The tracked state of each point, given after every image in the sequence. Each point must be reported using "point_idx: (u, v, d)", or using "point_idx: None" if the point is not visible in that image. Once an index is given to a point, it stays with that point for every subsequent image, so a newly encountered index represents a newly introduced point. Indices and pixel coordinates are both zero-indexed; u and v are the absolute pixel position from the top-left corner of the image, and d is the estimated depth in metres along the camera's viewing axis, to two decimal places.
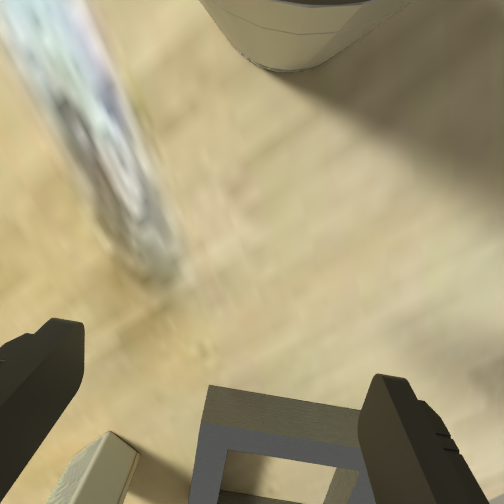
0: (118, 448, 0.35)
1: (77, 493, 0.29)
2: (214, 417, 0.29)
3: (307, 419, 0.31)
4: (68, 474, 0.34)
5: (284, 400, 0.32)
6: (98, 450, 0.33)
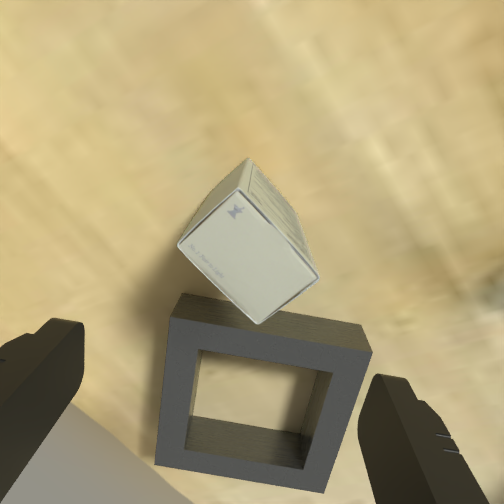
0: None
1: (306, 239, 0.23)
2: None
3: None
4: (265, 181, 0.26)
5: None
6: (299, 220, 0.27)
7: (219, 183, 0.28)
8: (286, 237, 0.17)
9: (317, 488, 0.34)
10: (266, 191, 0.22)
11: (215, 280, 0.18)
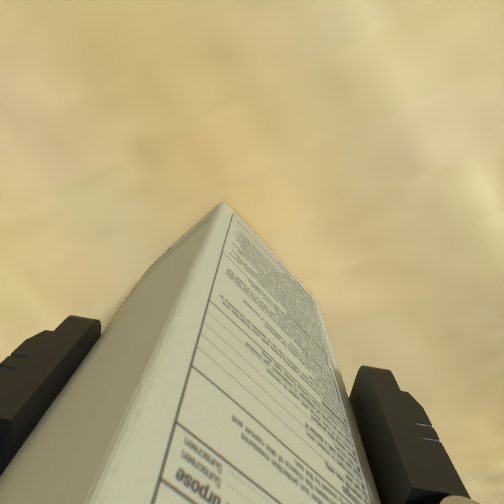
0: None
1: (355, 422, 0.09)
2: None
3: None
4: (256, 260, 0.12)
5: None
6: (327, 331, 0.13)
7: (166, 252, 0.14)
8: None
9: None
10: (256, 316, 0.09)
11: None
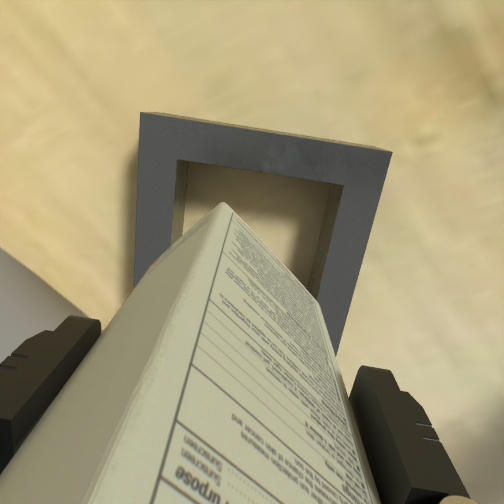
0: None
1: (355, 421, 0.10)
2: None
3: None
4: (256, 259, 0.12)
5: None
6: None
7: (166, 252, 0.14)
8: None
9: None
10: (256, 315, 0.09)
11: None
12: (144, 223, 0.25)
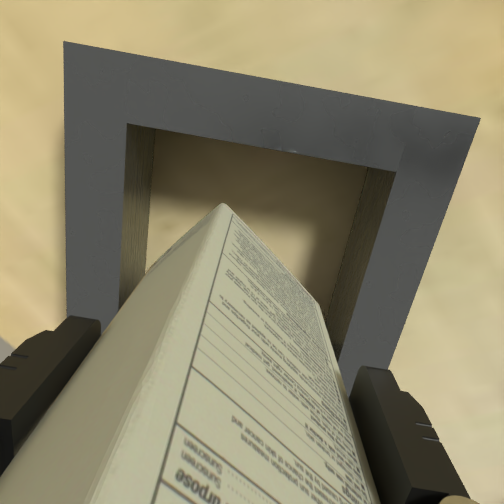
0: None
1: (355, 423, 0.10)
2: None
3: None
4: (256, 260, 0.12)
5: None
6: None
7: (166, 252, 0.14)
8: None
9: None
10: (256, 317, 0.09)
11: None
12: (78, 226, 0.16)
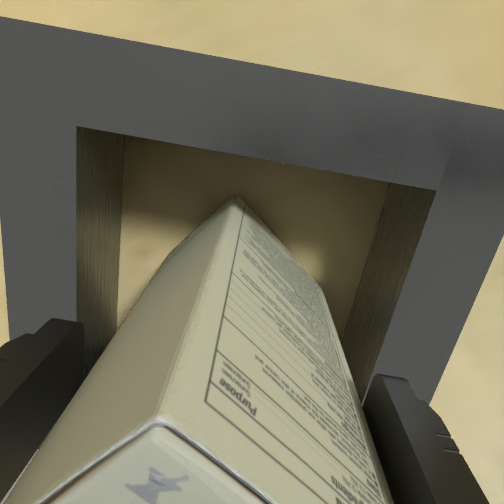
0: None
1: (353, 384, 0.11)
2: None
3: None
4: (266, 245, 0.13)
5: None
6: (329, 311, 0.15)
7: (184, 240, 0.15)
8: None
9: None
10: (269, 289, 0.10)
11: None
12: (20, 259, 0.12)
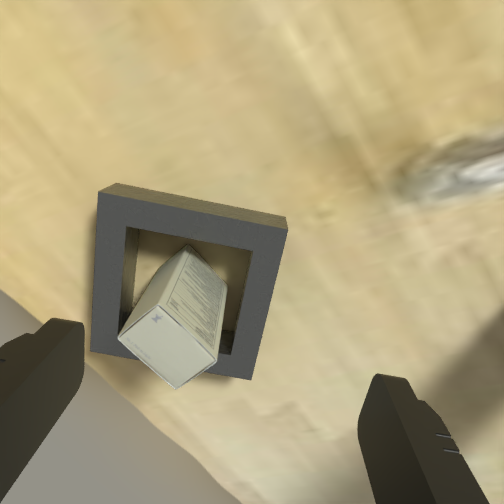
0: None
1: None
2: None
3: None
4: (197, 267, 0.34)
5: None
6: (226, 294, 0.35)
7: (165, 263, 0.36)
8: (192, 334, 0.25)
9: (244, 375, 0.36)
10: (192, 284, 0.30)
11: (145, 360, 0.26)
12: (100, 271, 0.33)
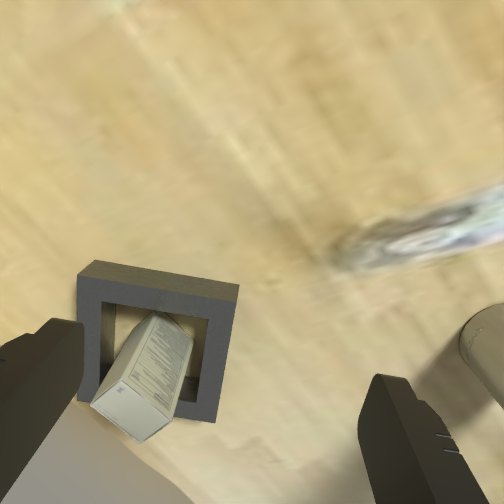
0: None
1: None
2: None
3: None
4: (164, 330, 0.40)
5: None
6: (190, 351, 0.41)
7: (139, 324, 0.42)
8: (150, 401, 0.31)
9: (209, 419, 0.42)
10: (156, 350, 0.36)
11: (113, 421, 0.32)
12: None
